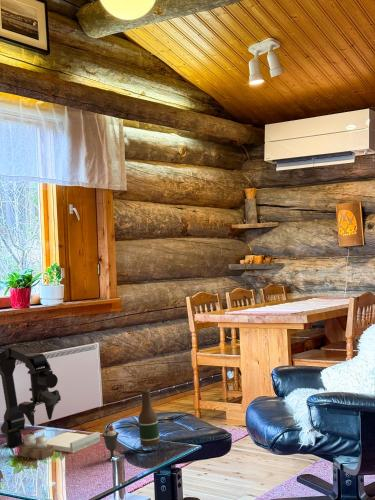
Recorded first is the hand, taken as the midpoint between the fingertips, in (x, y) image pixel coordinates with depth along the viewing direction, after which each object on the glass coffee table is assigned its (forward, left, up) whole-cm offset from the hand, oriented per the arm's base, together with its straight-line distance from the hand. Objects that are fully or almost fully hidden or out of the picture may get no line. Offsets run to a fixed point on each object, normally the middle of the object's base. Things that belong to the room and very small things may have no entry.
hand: (41, 422), depth 292 cm
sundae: (+33, +6, -13) cm, 36 cm away
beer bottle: (+39, +22, -13) cm, 46 cm away
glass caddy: (-2, -2, -13) cm, 14 cm away
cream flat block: (+1, +14, -13) cm, 19 cm away
